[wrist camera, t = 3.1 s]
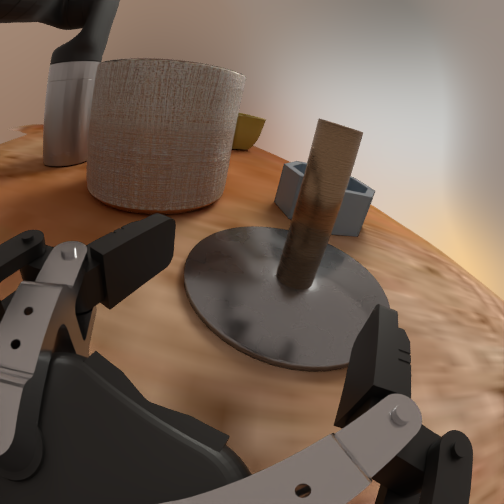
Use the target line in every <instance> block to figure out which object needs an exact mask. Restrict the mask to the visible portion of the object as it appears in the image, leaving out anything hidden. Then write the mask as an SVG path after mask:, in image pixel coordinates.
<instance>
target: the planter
mask: <svg viewBox="0 0 504 504" xmlns="http://www.w3.org/2000/svg"><path fill="white" fill-rule="evenodd" d="M245 80H246V77H245V76H244V75H243V74H241V73H238V72H236V71H233V70H229V69H226V68H222V67H218V66H213V65H208V64H203V63H197V62H189V61H181V60H172V59H155V58H131V59H117V60H110V61H105V62H102V63H100V64H98V67H97V72H96V78H95V85H94V91H93V99H92V106H91V115H90V125H89V136H88V150H87V187H88V190H89V192H90V194H91V195H92V196H93V197H95V198H96V199H97V200H99V201H100V202H102V203H103V204H105V205H108V206H110V207H113V208H116V209H119V210H123V211H128V212H134V213H141V214H155V213H159V214H176V213H184V212H190V211H194V210H197V209H201V208H203V207H206V206H208V205H210V204H212V203H214V202H215V201H217V200H218V199H219V198H220V197H221V196H222V194H223V191H224V187H225V183H226V177H227V172H228V166H229V160H230V155H231V149H232V144H233V138H234V133H235V128H236V122H237V117H238V112H239V107H240V103H241V97H242V93H243V89H244V84H245Z"/></svg>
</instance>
